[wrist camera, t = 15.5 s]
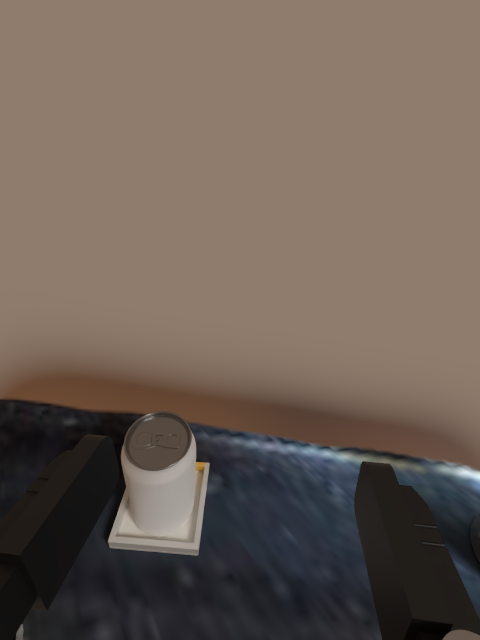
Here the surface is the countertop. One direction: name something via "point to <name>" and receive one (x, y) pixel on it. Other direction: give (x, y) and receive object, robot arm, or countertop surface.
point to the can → (160, 471)
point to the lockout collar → (177, 542)
